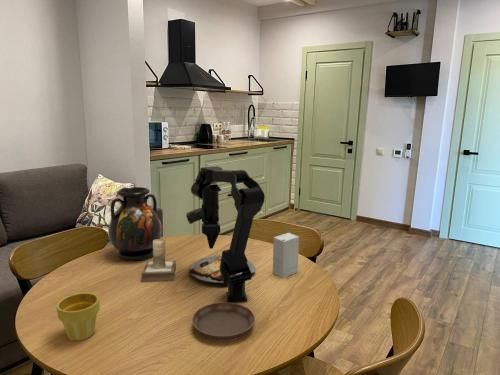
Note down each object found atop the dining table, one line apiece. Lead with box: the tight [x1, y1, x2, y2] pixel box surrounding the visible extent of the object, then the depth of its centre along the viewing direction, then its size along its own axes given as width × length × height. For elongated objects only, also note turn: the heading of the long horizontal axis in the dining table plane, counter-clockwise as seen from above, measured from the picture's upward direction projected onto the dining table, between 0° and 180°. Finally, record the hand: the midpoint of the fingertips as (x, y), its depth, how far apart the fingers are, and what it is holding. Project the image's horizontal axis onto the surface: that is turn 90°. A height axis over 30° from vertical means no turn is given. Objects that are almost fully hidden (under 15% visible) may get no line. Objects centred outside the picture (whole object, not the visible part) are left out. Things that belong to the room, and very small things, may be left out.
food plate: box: [188, 254, 256, 284], centre depth 141 cm, size 25×23×4 cm
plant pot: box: [56, 292, 100, 341], centre depth 101 cm, size 10×10×10 cm
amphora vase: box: [107, 186, 163, 262], centre depth 155 cm, size 22×22×28 cm
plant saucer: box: [191, 302, 256, 342], centre depth 106 cm, size 18×18×3 cm
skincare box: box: [272, 232, 300, 279], centre depth 140 cm, size 8×6×15 cm
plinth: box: [141, 260, 177, 283], centre depth 138 cm, size 11×11×3 cm
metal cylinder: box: [152, 238, 166, 269], centre depth 137 cm, size 4×4×10 cm
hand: (210, 243), depth 134 cm, fingers open, 9 cm apart
